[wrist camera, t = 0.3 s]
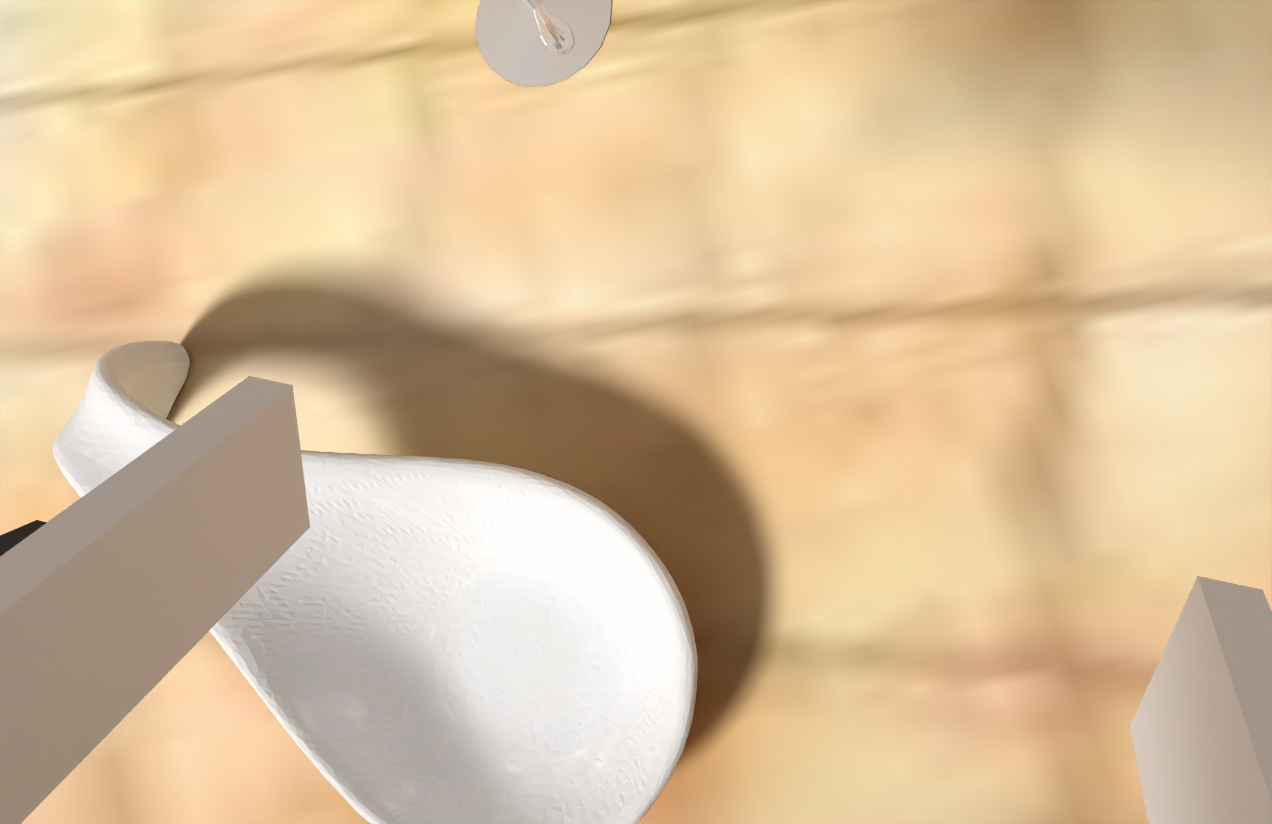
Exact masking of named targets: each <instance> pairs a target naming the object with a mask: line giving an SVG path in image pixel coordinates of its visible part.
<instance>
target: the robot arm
mask: <svg viewBox="0 0 1272 824" xmlns="http://www.w3.org/2000/svg"><path fill="white" fill-rule="evenodd" d="M309 528H310V520H309V513H308V505H307V497H306V489H305V481H304V473H303V465H302V457H301V450H300V442H299V434H298V426H297V418H296V410H295V402H294V394H293V387H292V385H289V384H284V383H280V382H275V381H270V380H265V379H261V378H256V377H251V376H249V377H247V378H246V379H245V380H243V381H242V382H241V383H239V384H238V385H236V386H235V387H234V388H232V389H231V390H229V391H228V392H227V393H225V394H224V395H223V396H221V397H220V398H218V399H217V400H216V401H214V402H213V403H212V404H210V405H209V406H207V407H206V408H205V409H203V410H202V411H200V412H199V413H198V414H196V415H195V416H194V417H192V418H191V419H189V420H188V421H187V422H185V423H184V424H183V425H181V426H180V427H178V428H177V429H176V430H174V431H173V432H172V433H170V434H169V435H167V436H166V437H165V438H163V439H162V440H160V441H159V442H158V443H156V444H155V445H154V446H152V447H151V448H149V449H148V450H147V451H145V452H144V453H143V454H141V455H140V456H138V457H137V458H136V459H134V460H133V461H131V462H130V463H129V464H127V465H126V466H125V467H123V468H122V469H120V470H119V471H118V472H116V473H115V474H114V475H112V476H111V477H109V478H108V479H107V480H105V481H104V482H102V483H101V484H100V485H98V486H97V487H96V488H94V489H93V490H91V491H90V492H89V493H87V494H86V495H85V496H83V497H82V498H80V499H79V500H78V501H76V502H75V503H74V504H72V505H71V506H69V507H68V508H67V509H65V510H64V511H62V512H61V513H60V514H58V515H57V516H56V517H54V518H53V519H51V520H50V521H49V522H47V523H46V522H42V521H39V520H36V521H34V522H31V523H29V524H26V525H24V526H22V527H19V528H17V529H15V530H12V531H10V532H8V533H5V534H3V535H1V536H0V824H21V823H22V822H23V821H24V820H25V819H26V817H27V816H28V815H29V814H30V813H31V812H32V811H33V810H34V809H35V808H36V807H37V806H38V805H39V804H40V803H41V802H42V801H43V800H44V799H45V798H46V797H47V796H48V795H49V794H50V793H51V792H52V791H53V790H54V789H55V788H56V787H57V786H58V785H59V784H60V783H61V782H62V781H63V780H64V779H65V778H66V777H67V776H68V774H69V773H70V772H71V771H72V770H73V769H74V768H75V767H76V766H77V765H78V764H79V763H80V762H81V761H82V760H83V759H84V758H85V757H86V756H87V755H88V754H89V753H90V752H91V751H92V750H93V749H94V748H95V747H96V746H97V745H98V744H99V743H100V742H101V741H102V740H103V739H104V738H105V737H106V736H107V735H108V734H109V733H110V732H111V730H112V729H113V728H114V727H115V726H116V725H117V724H118V723H119V722H120V721H121V720H122V719H123V718H124V717H125V716H126V715H127V714H128V713H129V712H130V711H131V710H132V709H133V708H134V707H135V706H136V705H137V704H138V703H139V702H140V701H141V700H142V699H143V698H144V697H145V696H146V695H147V694H148V693H149V692H150V691H151V690H152V689H153V688H154V686H155V685H156V684H157V683H158V682H159V681H160V680H161V679H162V678H163V677H164V676H165V675H166V674H167V673H168V672H169V671H170V670H171V669H172V668H173V667H174V666H175V665H176V664H177V663H178V662H179V661H180V660H181V659H182V658H183V657H184V656H185V655H186V654H187V653H188V652H189V651H190V650H191V649H192V648H193V647H194V646H195V645H196V643H197V642H198V641H199V640H200V639H201V638H202V637H203V636H204V635H205V634H206V633H207V632H208V631H209V630H210V629H211V628H212V627H213V626H214V625H215V624H216V623H217V622H218V621H219V620H220V619H221V618H222V617H223V616H224V615H225V614H226V613H227V612H228V611H229V610H230V609H231V608H232V607H233V606H234V605H235V604H236V603H237V602H238V601H239V599H240V598H241V597H242V596H243V595H244V594H245V593H246V592H247V591H248V590H249V589H250V588H251V587H252V586H253V585H254V584H255V583H256V582H257V581H258V580H259V579H260V578H261V577H262V576H263V575H264V574H265V573H266V572H267V571H268V570H269V569H270V568H271V567H272V566H273V565H274V564H275V563H276V562H277V561H278V560H279V559H280V558H281V557H282V555H283V554H284V553H285V552H286V551H287V550H288V549H289V548H290V547H291V546H292V545H293V544H294V543H295V542H296V541H297V540H298V539H299V538H300V537H301V536H302V535H303V534H304V533H305V532H306V531H307V530H308V529H309ZM1130 729H1131V735H1132V740H1133V745H1134V750H1135V755H1136V761H1137V766H1138V771H1139V776H1140V781H1141V787H1142V792H1143V797H1144V802H1145V807H1146V813H1147V818H1148V823H1149V824H1272V612H1271V609H1270V607H1269V604H1268V602H1267V599H1266V597H1265V595H1264V592H1263V590H1261V589H1256V588H1251V587H1246V586H1242V585H1237V584H1232V583H1227V582H1223V581H1218V580H1213V579H1208V578H1204V577H1199V576H1197V578H1196V581H1195V583H1194V585H1193V587H1192V590H1191V592H1190V594H1189V596H1188V599H1187V601H1186V603H1185V605H1184V607H1183V610H1182V612H1181V614H1180V616H1179V619H1178V621H1177V623H1176V625H1175V628H1174V630H1173V632H1172V634H1171V636H1170V639H1169V641H1168V643H1167V645H1166V648H1165V650H1164V652H1163V654H1162V657H1161V659H1160V661H1159V663H1158V666H1157V668H1156V670H1155V672H1154V674H1153V677H1152V679H1151V681H1150V683H1149V686H1148V688H1147V690H1146V692H1145V695H1144V697H1143V699H1142V701H1141V703H1140V706H1139V708H1138V710H1137V712H1136V715H1135V717H1134V719H1133V721H1132V724H1131V726H1130Z"/></svg>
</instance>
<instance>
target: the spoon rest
mask: <svg viewBox="0 0 1272 824" xmlns="http://www.w3.org/2000/svg"><path fill="white" fill-rule="evenodd" d="M189 366H190V359H189V355H188V353H187V351H186V350H185V348H184V347H183V346H181V345H180V344H177V343H174V342H167V341H142V342H134V343H129V344H125V345H122V346H119V347H116V348H114V349H112V350H110V351H109V352H107V353H106V354H105V355H103V356H102V357H101V358H100V359H99V360H98V361H97V363H96V365H95V367H94V369H93V372H92V375H91V377H90V380H89V383H88V386H87V389H86V392H85V394H84V396H83V398H82V400H81V402H80V404H79V406H78V408H77V409H76V411H75V413H74V415H73V416H72V417H71V419H70V420H69V421H68V423H67V424H66V425H65V427H64V428H63V429H62V431H61V432H60V433H59V435H58V436H57V437H56V440H55V442H54V445H53V453H54V457H55V459H56V461H57V463H58V465H59V467H60V469H61V471H62V472H63V474H64V475H65V477H66V478H67V480H68V481H69V483H70V484H71V485H72V487H73V488H74V489H75V490H76V492H77V493H78V494H79V495H80V496H81V498H82V497H83V496H85V495H86V494H87V493H89V492H90V491H91V490H93V489H94V488H96V487H97V486H98V485H100V484H101V483H102V482H104V481H105V480H107V479H108V478H109V477H111V476H112V475H114V474H115V473H116V472H118V471H119V470H120V469H122V468H123V467H125V466H126V465H127V464H129V463H130V462H131V461H133V460H134V459H136V458H137V457H138V456H140V455H141V454H143V453H144V452H145V451H147V450H148V449H149V448H151V447H152V446H154V445H155V444H156V443H158V442H159V441H160V440H162V439H163V438H165V437H166V436H167V435H169V434H170V433H172V432H173V431H174V430H176V429H177V428H178V427H180V425H178V424H176V423H173V422H171V421H169V420H167V419H166V418H167V416H168V414H169V412H170V410H171V408H172V405H173V403H174V401H175V399H176V397H177V395H178V393H179V391H180V390H181V388H182V386H183V384H184V382H185V379H186V377H187V374H188V370H189ZM301 457H302V465H303V473H304V481H305V489H306V497H307V505H308V513H309V520H310V528H309V529H308V530H307V531H306V532H305V533H304V534H303V535H302V536H301V537H300V538H299V539H298V540H297V541H296V542H295V543H294V544H293V545H292V546H291V547H290V548H289V549H288V550H287V551H286V552H285V553H284V554H283V555H282V557H281V558H280V559H279V560H278V561H277V562H276V563H275V564H274V565H273V566H272V567H271V568H270V569H269V570H268V571H267V572H266V573H265V574H264V575H263V576H262V577H261V578H260V579H259V580H258V581H257V582H256V583H255V584H254V585H253V586H252V587H251V588H250V589H249V590H248V591H247V592H246V593H245V594H244V595H243V596H242V597H241V598H240V599H239V601H238V602H237V603H236V604H235V605H234V606H233V607H232V608H231V609H230V610H229V611H228V612H227V613H226V614H225V615H224V616H223V617H222V618H221V619H220V620H219V621H218V622H217V623H216V624H215V625H214V626H213V627H212V628H211V629H210V630H209V631H210V632H211V634H212V635H213V636H214V637H215V638H216V640H217V641H218V642H219V644H220V645H221V646H222V647H223V649H224V650H225V651H226V653H227V654H228V655H229V656H230V658H231V659H232V660H233V662H234V663H235V664H236V666H237V667H238V668H239V670H240V671H241V672H242V673H243V675H244V676H245V678H246V679H247V680H248V682H249V683H250V684H251V686H252V687H253V688H254V689H255V690H256V692H257V693H258V694H259V696H260V697H261V698H262V700H263V701H264V702H265V704H266V705H267V706H268V708H269V709H270V710H271V712H272V713H273V714H274V716H275V717H276V718H277V720H278V721H279V722H280V723H281V724H282V726H283V727H284V728H285V729H286V731H287V732H288V733H289V734H290V736H291V737H292V738H293V740H294V741H295V742H296V744H297V745H298V746H299V747H300V748H301V750H302V751H303V752H304V753H305V754H306V755H307V757H308V758H309V759H310V760H311V761H312V762H313V764H314V765H315V766H316V767H317V768H318V770H319V771H320V772H321V773H322V774H323V775H324V777H325V778H326V779H327V780H328V781H329V782H330V783H331V784H332V785H333V786H334V787H335V788H336V789H337V790H338V791H339V793H340V794H341V795H342V796H343V797H344V798H345V799H346V800H347V801H348V802H349V803H350V805H351V806H352V807H353V808H354V809H355V810H356V811H357V812H358V813H359V814H360V815H361V816H363V817H364V818H365V819H366V820H367V821H368V822H370V823H371V824H636V823H637V822H638V821H639V820H640V819H641V818H642V817H643V816H644V815H645V814H646V812H647V811H648V810H649V808H650V807H651V806H652V804H653V803H654V802H655V800H656V799H657V798H658V796H659V795H660V794H661V792H662V790H663V789H664V787H665V786H666V784H667V782H668V781H669V779H670V778H671V776H672V774H673V772H674V770H675V768H676V766H677V763H678V761H679V759H680V757H681V755H682V753H683V750H684V748H685V744H686V741H687V738H688V734H689V730H690V727H691V723H692V719H693V713H694V707H695V701H696V691H697V675H698V658H697V650H696V644H695V638H694V633H693V628H692V625H691V622H690V618H689V615H688V612H687V609H686V606H685V603H684V601H683V599H682V596H681V594H680V592H679V590H678V588H677V586H676V584H675V582H674V580H673V578H672V577H671V575H670V573H669V572H668V570H667V569H666V567H665V566H664V564H663V563H662V561H661V560H660V558H659V557H658V556H657V554H656V553H655V552H654V550H653V549H652V548H651V547H650V546H649V544H648V543H647V542H646V541H645V540H644V539H643V537H642V536H641V535H640V534H639V533H638V532H637V531H636V530H635V529H634V528H633V527H632V526H631V525H630V524H629V523H628V522H627V521H625V520H624V519H623V518H622V517H621V516H620V515H619V514H618V513H616V512H615V511H614V510H612V509H611V508H609V507H608V506H607V505H605V504H604V503H603V502H601V501H600V500H598V499H596V498H595V497H593V496H591V495H589V494H587V493H586V492H584V491H582V490H580V489H578V488H576V487H573V486H571V485H569V484H567V483H565V482H562V481H559V480H556V479H554V478H551V477H548V476H545V475H542V474H539V473H536V472H532V471H529V470H525V469H521V468H517V467H512V466H508V465H503V464H497V463H491V462H484V461H477V460H470V459H458V458H442V457H425V456H405V455H376V454H355V453H334V452H317V451H304V450H301Z"/></svg>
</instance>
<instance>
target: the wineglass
mask: <svg viewBox="0 0 1272 824" xmlns="http://www.w3.org/2000/svg"><path fill="white" fill-rule="evenodd" d="M611 4H612V2H611V0H481V2H480V5H479V7H478V13H477V22H476V34H477V39H478V44H479V49H480V52H481V53H482V55H483V57H484V58H485V60H486V62H487V64H488V65H489V67H490V68H491V69H492V70H493V71H495V72H496V73H497V74H498V75H500V76H501V77H502V78H503V79H505V80H506V81H510V82H513V83H516V84H519V85H522V86H547V85H550V84H553V83H556V82H559V81H562V80H565V79H567V78H569V77H570V76H571V75H573V74H574V73H576V72H577V71H578V70H580V69H581V68H583V67H584V66H585V65H586V64H587V63H588V62H589V61H590V59H591V58H592V57H593V56H594V54H595V53H596V52H597V50H598V49H599V48H600V47H601V44H602V42H603V40H604V37H605V35H606V32H607V30H608V27H609V25H610V15H611Z"/></svg>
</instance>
